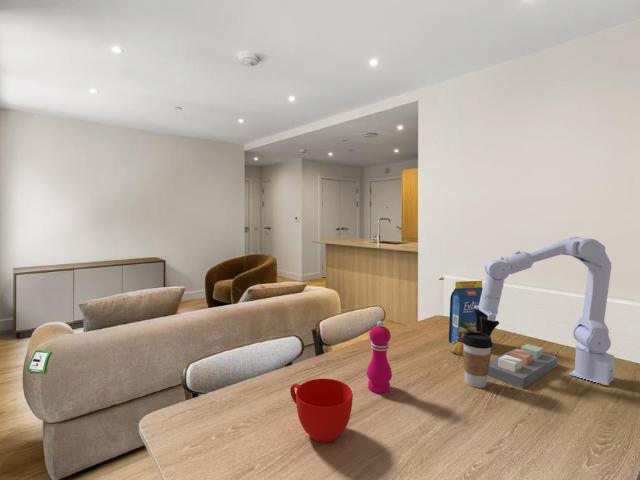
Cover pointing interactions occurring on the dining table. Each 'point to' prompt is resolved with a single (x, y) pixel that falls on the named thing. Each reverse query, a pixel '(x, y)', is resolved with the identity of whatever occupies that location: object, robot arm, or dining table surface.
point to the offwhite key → (510, 363)
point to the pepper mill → (379, 360)
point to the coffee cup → (476, 358)
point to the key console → (522, 370)
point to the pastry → (456, 348)
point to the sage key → (533, 350)
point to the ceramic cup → (323, 407)
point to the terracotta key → (522, 356)
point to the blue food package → (463, 309)
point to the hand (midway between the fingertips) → (481, 335)
